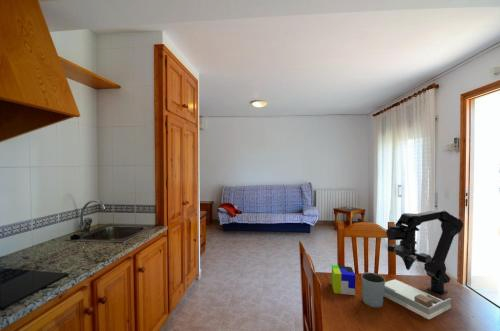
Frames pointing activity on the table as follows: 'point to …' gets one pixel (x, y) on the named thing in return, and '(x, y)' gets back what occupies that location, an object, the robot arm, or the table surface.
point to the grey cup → (373, 289)
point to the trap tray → (406, 295)
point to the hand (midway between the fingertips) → (408, 269)
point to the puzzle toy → (343, 280)
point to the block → (423, 300)
